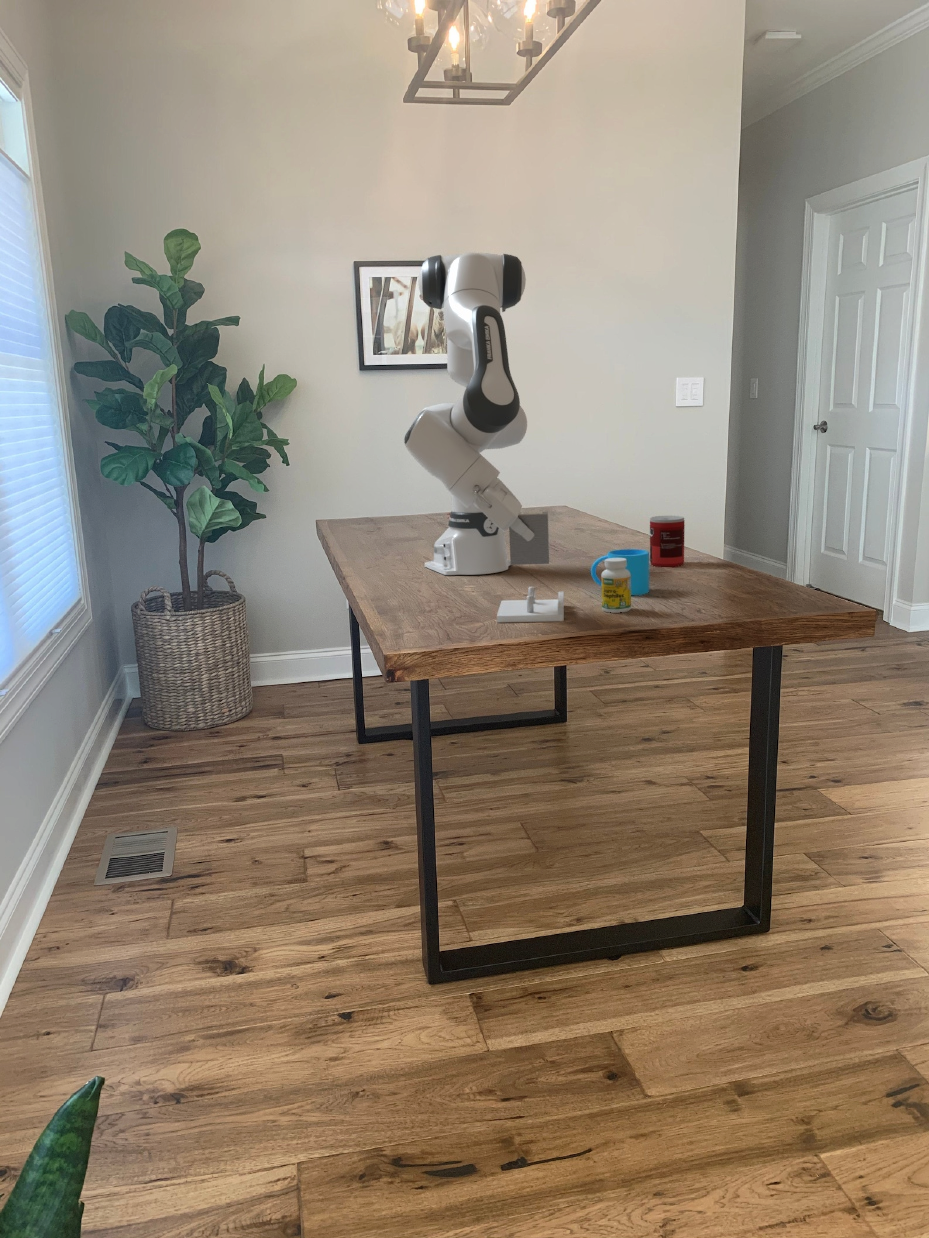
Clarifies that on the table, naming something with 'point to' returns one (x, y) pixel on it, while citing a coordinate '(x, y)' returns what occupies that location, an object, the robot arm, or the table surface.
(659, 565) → the canned food
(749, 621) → the table surface
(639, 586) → the mug
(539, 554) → the block
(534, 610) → the white pegged base
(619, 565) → the supplement bottle
